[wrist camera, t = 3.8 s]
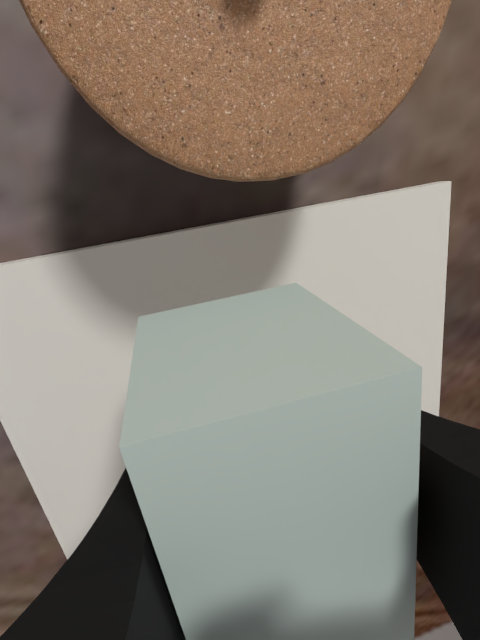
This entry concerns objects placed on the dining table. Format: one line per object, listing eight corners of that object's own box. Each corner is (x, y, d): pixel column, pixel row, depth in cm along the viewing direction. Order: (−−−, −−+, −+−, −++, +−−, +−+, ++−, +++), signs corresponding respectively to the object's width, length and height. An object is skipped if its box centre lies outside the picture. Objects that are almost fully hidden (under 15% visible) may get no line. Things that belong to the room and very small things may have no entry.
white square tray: (86, 580, 23) (79, 620, 21) (-58, 274, 16) (-92, 287, 14) (427, 474, 26) (451, 499, 24) (439, 181, 19) (475, 180, 17)
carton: (192, 511, 14) (215, 725, 8) (138, 316, 11) (118, 447, 5) (323, 472, 15) (424, 645, 9) (305, 280, 12) (437, 362, 6)
